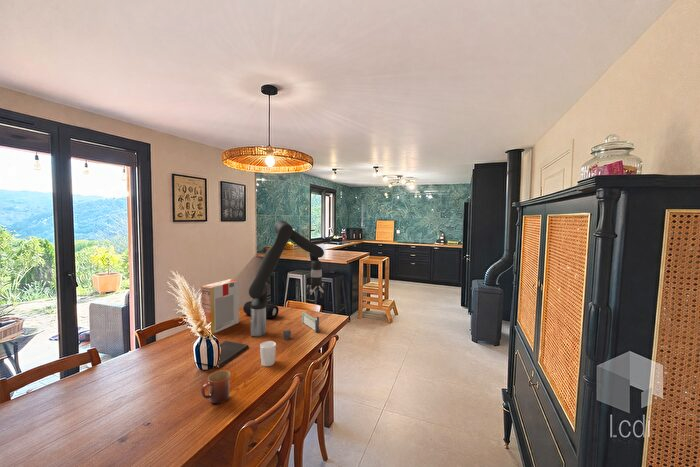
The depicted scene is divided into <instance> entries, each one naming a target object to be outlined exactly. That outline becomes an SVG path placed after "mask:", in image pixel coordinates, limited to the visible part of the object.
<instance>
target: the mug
mask: <svg viewBox="0 0 700 467" xmlns="http://www.w3.org/2000/svg"><path fill="white" fill-rule="evenodd" d="M231 375H232V373H231V371H229V370H227V369H222V370H216V371H214V372H212V373H210V374H209V375H208V376H207V382H206V383H205V384H203V385H202V386H201V389H200V394H201V396H202V398H203V399H207V400H208V399H209V402H210V403H211V402H212V404H213V403H220V404H223V403H225V402H226V401H227V400H228V399H229V397H230V379H231ZM207 387H209V394H207V395H206V393H205V390H206V388H207ZM224 401H225V402H224ZM222 402H223V403H222Z"/></svg>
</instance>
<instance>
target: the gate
mask: <svg viewBox="0 0 700 467" xmlns="http://www.w3.org/2000/svg"><path fill="white" fill-rule="evenodd" d="M315 319H316V318H314V317H313V316H311V315H309V314H308V313H306V311H302V312H301V323H302V324H304V325H306V326H308V327H309V328H310V329H312V330H313V331H315Z"/></svg>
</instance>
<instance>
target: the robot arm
mask: <svg viewBox="0 0 700 467" xmlns="http://www.w3.org/2000/svg"><path fill="white" fill-rule="evenodd" d="M273 229H274V231H275V233H276V234H277V235H276V238H275V240H274V242H273V244H272V245H271V246H270V248H268V249H267V251H266V252H265V254H264V255H263V258H262V261H261V264H260V265H259V268H258V269H257V273H256V275H255V278H254V279H253V281H252V283H251V285H250V286H249V288H248V294H249V297H250V298H252V300H251V301H252V303H251V315H250V337H262V336H265V335H266V333H267V318H266V303H268V302H267V301H268V286H267V284H266V283H267V282H268V279H269V278H270V276H271V275H272V273H274V271H275V269H276V268H277V265H278V263H279V260H281V259H280V258H281V256H282V253H283V252H284V249H285V247H286V245H287V244H288V241H289V240H291V241H292V243H294V244H295V245H296V246H298V247H299V248H300V249H302V250H304V251H305V252H307V253H308V255H309V259H310V264H311V265H310V266H311V268H310V269H311V270H310V285H309V284H307V285H306V291H305V292H306V293H305V294H307V295H308V299H309V300H310V301H312V299H313V295H312V294H313V293H314V292H316V291H320V294H319V295H320V296H319V297H320V299H323V298H324V293H325V292H327V285H326V283H325V282H323V277H322V276H323V272H322V271H323V270H322V268H323V267H322V265H323V264H322V261H321V260H320V258H322V257H323V256H324V255H325V251H324V249H323V248H322V247H321V246H319V245H317V244H315V243H313V242H312V241H310V240H309V239H308V238H306V237H305V236H303V235H301V234H300V233H298V232H297V231H296V230H294V229H293V226H292V225H291V224H290V223H288V222H287V221H285V220H278V221H276V222H275V224H274V227H273Z"/></svg>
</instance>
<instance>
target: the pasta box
mask: <svg viewBox="0 0 700 467" xmlns="http://www.w3.org/2000/svg"><path fill="white" fill-rule="evenodd" d="M239 282H240V280H238V279H232V278H229V279H225V280H221V281H217V282H212V283H209V284H204V285H201V287H200V288H201V308H202V307H203V309H204V312H205V315H206V319H207V322H212V323H211V331H212V333H213V334H212V335H214V334H216V333H218V332H221V331H223V330H225V329H227V328H230V327H232V326H234V325H236V324H239V323H240V301H239V300H240V294H239V292H240V289H239V287H240V286H239V285H240V284H239Z"/></svg>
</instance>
